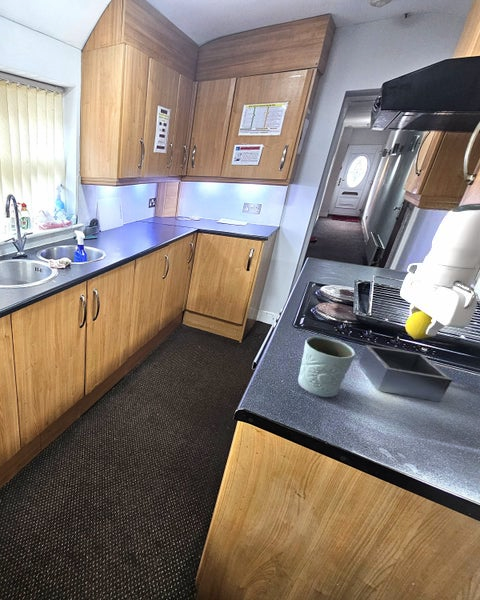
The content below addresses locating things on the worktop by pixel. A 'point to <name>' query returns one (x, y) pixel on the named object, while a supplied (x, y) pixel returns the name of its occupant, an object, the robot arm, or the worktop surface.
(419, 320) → the lemon
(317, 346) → the pale green embossed cup
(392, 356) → the open grey rectangular container
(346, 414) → the worktop surface
